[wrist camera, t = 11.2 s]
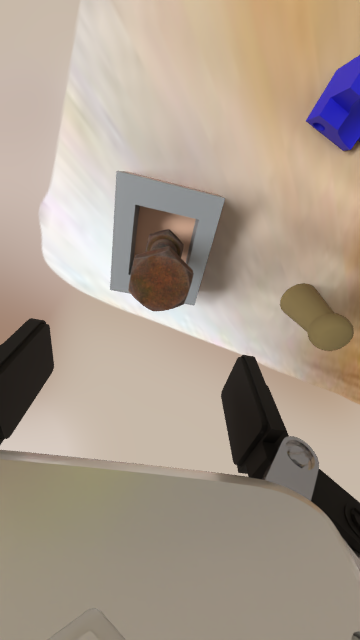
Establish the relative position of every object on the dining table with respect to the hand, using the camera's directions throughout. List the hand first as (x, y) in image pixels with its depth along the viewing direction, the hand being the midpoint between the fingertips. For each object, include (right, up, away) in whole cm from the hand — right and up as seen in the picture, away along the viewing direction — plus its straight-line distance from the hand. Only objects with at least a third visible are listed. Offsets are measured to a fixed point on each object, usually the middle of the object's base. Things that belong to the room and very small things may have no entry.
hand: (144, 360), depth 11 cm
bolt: (0, +13, +20) cm, 24 cm away
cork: (+22, +5, +27) cm, 35 cm away
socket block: (-1, +14, +21) cm, 25 cm away
